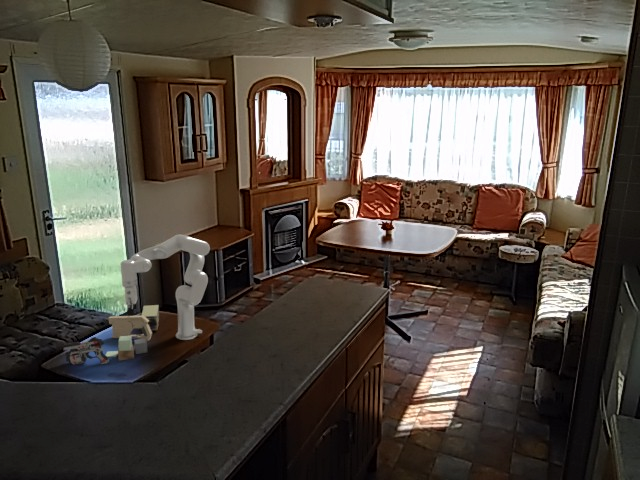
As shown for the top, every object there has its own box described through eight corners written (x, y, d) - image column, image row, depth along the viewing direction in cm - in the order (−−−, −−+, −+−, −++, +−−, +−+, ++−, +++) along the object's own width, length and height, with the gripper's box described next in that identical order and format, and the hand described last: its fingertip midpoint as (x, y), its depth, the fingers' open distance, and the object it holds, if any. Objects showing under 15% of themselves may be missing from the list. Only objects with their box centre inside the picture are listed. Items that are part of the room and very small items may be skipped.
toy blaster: (70, 367, 281) (63, 341, 277) (110, 360, 281) (103, 334, 278) (68, 370, 277) (60, 344, 273) (108, 363, 278) (101, 337, 274)
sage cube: (132, 345, 290) (131, 335, 289) (130, 350, 285) (130, 340, 283) (120, 346, 289) (119, 336, 288) (119, 351, 283) (118, 340, 282)
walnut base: (133, 352, 293) (133, 344, 292) (134, 358, 286) (133, 350, 285) (118, 354, 290) (117, 346, 289) (118, 360, 283) (118, 352, 282)
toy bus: (141, 332, 318) (140, 317, 317) (143, 320, 341) (143, 305, 339) (158, 331, 321) (157, 316, 319) (159, 319, 343) (159, 304, 341)
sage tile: (118, 352, 293) (118, 351, 293) (116, 356, 287) (116, 355, 287) (107, 352, 292) (107, 351, 292) (105, 357, 286) (104, 356, 286)
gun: (153, 338, 311) (150, 315, 308) (150, 341, 308) (147, 317, 305) (114, 339, 314) (110, 315, 311) (111, 341, 311) (107, 317, 307)
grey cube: (145, 348, 299) (145, 338, 298) (147, 352, 294) (146, 342, 293) (134, 349, 297) (134, 339, 295) (136, 354, 291) (135, 344, 290)
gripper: (134, 287, 275) (137, 318, 280) (139, 277, 292) (141, 306, 296) (119, 288, 274) (122, 319, 278) (124, 278, 290) (127, 306, 295)
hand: (132, 312), depth 287 cm, fingers open, 9 cm apart
